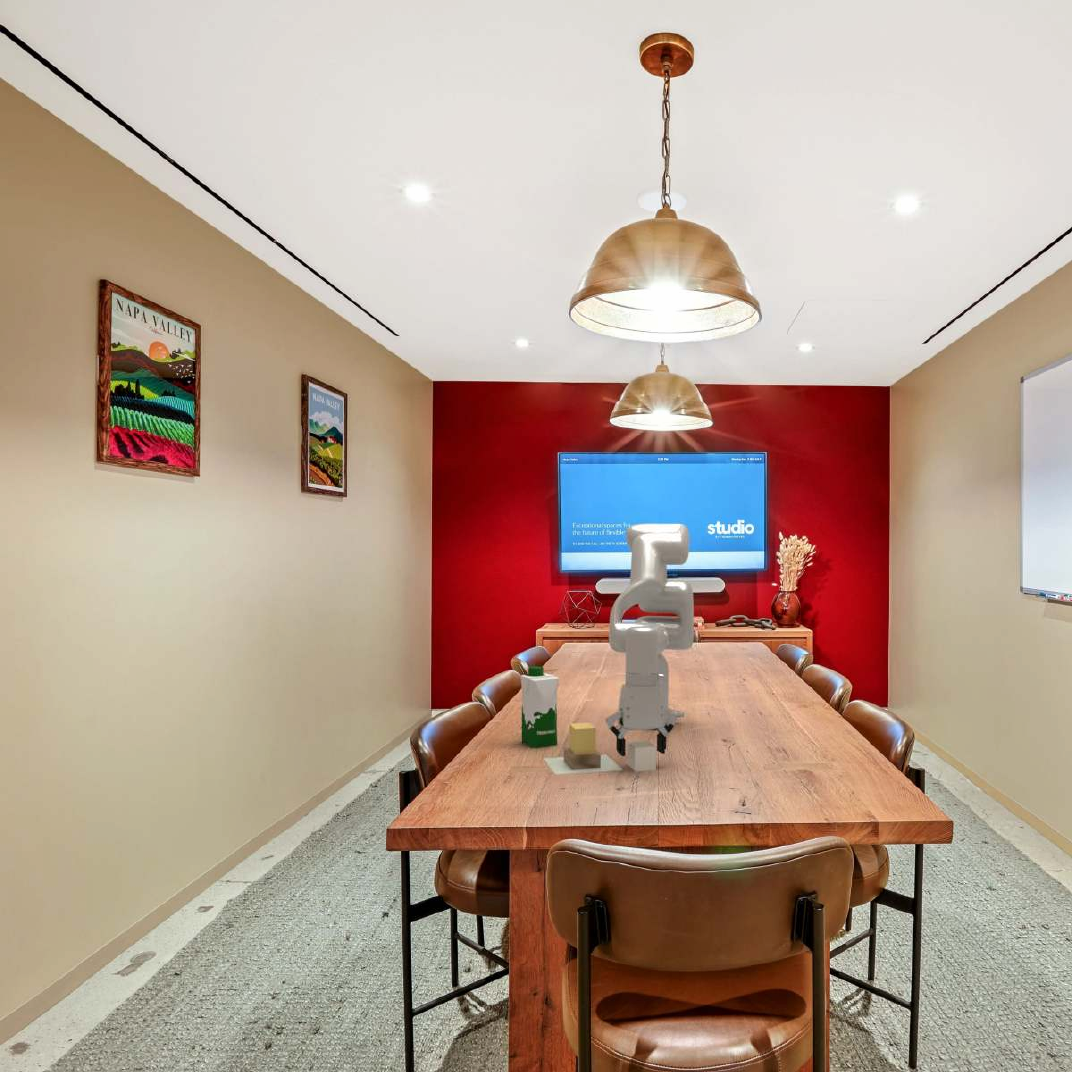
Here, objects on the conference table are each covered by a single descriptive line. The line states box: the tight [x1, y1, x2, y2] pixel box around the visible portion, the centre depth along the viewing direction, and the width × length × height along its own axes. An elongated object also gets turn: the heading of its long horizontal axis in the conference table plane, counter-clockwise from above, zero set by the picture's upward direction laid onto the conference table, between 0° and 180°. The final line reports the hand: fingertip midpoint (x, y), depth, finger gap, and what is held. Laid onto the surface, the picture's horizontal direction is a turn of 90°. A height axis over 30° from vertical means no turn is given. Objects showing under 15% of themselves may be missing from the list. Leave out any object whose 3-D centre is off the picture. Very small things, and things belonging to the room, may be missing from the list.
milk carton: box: [520, 665, 560, 749], centre depth 180 cm, size 9×9×20 cm
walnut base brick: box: [563, 747, 602, 770], centre depth 163 cm, size 7×7×3 cm
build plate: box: [543, 754, 623, 776], centre depth 163 cm, size 16×12×1 cm
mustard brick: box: [568, 722, 597, 755], centre depth 163 cm, size 5×5×6 cm
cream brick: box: [627, 740, 657, 772], centre depth 160 cm, size 5×5×6 cm
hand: (641, 753), depth 160 cm, fingers open, 9 cm apart
